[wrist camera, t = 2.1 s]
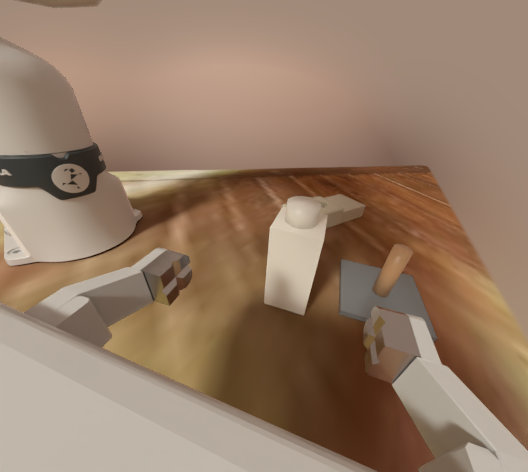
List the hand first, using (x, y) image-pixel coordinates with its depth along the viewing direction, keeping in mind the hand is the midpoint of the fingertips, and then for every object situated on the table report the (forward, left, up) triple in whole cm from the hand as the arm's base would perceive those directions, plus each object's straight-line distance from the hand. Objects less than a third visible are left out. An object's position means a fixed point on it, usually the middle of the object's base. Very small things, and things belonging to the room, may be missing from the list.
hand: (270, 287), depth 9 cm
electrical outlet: (-7, +35, -15) cm, 39 cm away
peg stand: (+7, +19, -14) cm, 25 cm away
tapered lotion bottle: (-3, +12, -14) cm, 19 cm away
